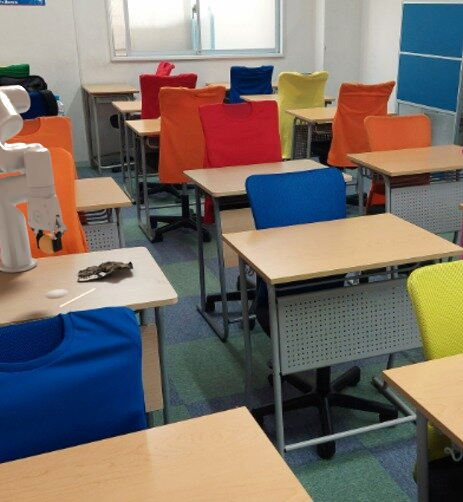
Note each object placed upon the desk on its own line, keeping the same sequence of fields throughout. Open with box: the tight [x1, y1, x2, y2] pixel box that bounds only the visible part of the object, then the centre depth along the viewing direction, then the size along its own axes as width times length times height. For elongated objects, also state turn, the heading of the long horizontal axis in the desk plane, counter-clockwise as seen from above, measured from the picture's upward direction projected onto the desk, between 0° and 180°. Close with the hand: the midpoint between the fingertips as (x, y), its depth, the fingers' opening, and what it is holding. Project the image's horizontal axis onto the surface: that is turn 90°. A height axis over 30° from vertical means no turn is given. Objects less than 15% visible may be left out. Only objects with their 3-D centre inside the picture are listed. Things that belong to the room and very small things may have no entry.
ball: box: [39, 233, 55, 255], centre depth 185 cm, size 6×6×6 cm
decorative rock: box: [77, 260, 134, 282], centre depth 205 cm, size 19×6×15 cm
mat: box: [44, 287, 96, 308], centre depth 188 cm, size 20×16×1 cm
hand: (50, 248), depth 185 cm, fingers closed on ball, 5 cm apart
